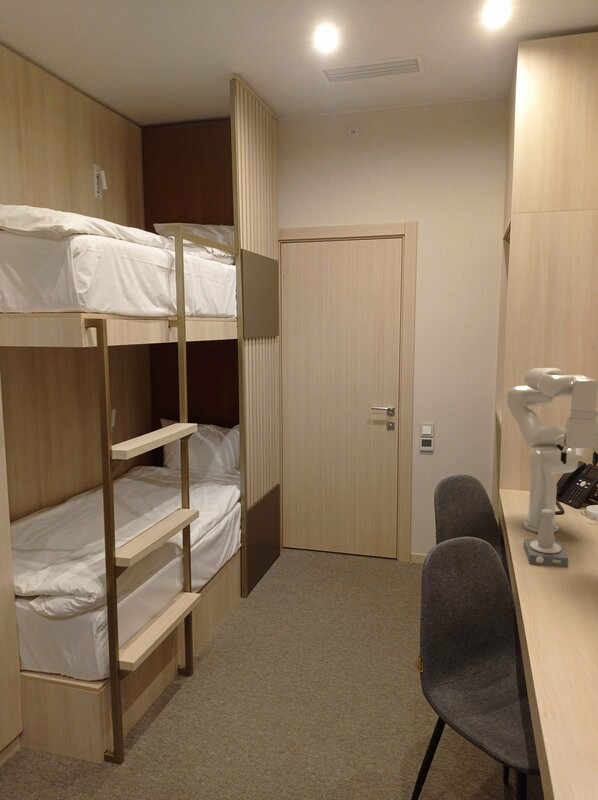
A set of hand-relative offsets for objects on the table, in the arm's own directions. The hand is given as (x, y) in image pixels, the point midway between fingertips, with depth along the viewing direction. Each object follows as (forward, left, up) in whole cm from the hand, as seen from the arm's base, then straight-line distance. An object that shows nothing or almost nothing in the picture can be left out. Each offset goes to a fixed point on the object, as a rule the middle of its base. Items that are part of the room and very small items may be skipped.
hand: (579, 463), depth 199 cm
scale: (+5, -10, -32) cm, 34 cm away
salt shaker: (+5, -10, -29) cm, 31 cm away
